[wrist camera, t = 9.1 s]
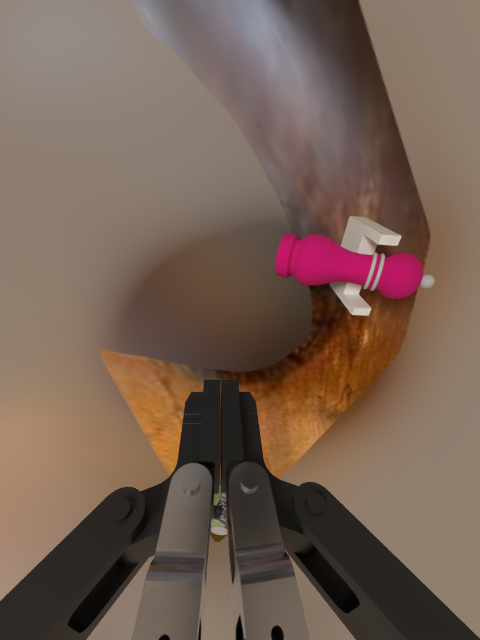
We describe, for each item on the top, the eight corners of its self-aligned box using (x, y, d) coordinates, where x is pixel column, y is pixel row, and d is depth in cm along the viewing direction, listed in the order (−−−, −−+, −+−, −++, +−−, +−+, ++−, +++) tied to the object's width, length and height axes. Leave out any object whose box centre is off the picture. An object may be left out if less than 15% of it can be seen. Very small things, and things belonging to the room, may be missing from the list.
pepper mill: (277, 285, 43) (417, 316, 37) (271, 267, 36) (441, 301, 30) (290, 244, 44) (428, 268, 38) (286, 219, 37) (454, 243, 31)
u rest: (349, 215, 40) (382, 234, 32) (365, 217, 40) (401, 236, 32) (329, 284, 46) (351, 314, 38) (342, 285, 47) (368, 315, 38)
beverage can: (235, 489, 85) (237, 535, 75) (212, 492, 85) (211, 538, 75) (233, 479, 82) (234, 526, 72) (209, 482, 82) (207, 529, 72)
